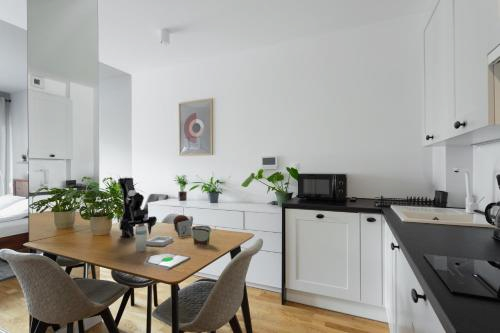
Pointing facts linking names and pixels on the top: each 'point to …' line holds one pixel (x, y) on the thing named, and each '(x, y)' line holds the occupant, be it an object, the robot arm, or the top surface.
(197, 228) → the food container
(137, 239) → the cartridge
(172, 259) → the white flat slab
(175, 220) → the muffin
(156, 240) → the tray
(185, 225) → the electrical switch
